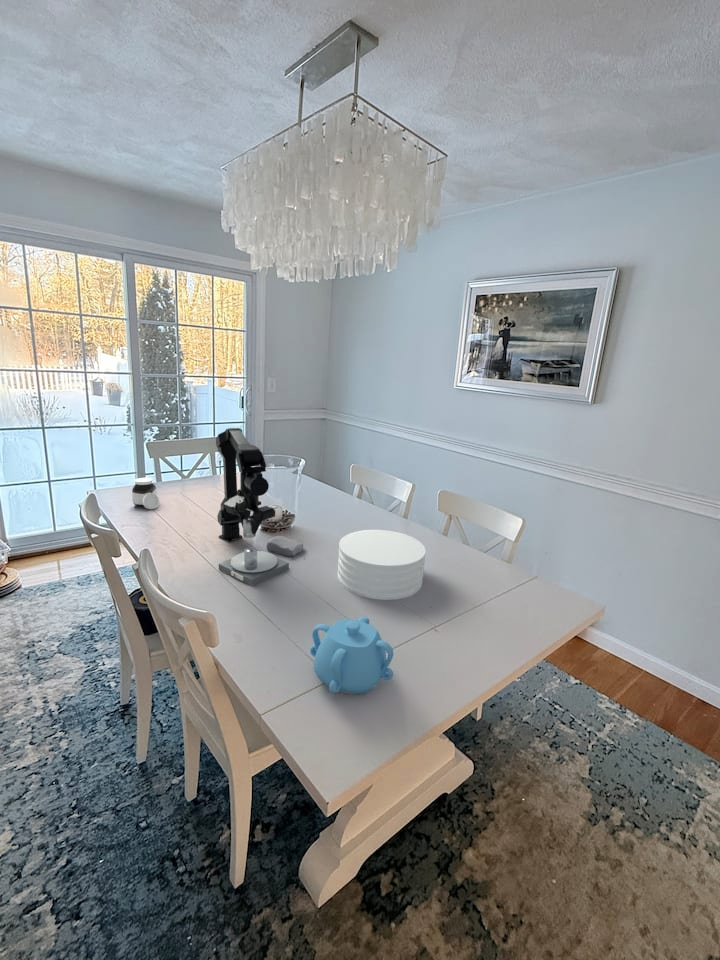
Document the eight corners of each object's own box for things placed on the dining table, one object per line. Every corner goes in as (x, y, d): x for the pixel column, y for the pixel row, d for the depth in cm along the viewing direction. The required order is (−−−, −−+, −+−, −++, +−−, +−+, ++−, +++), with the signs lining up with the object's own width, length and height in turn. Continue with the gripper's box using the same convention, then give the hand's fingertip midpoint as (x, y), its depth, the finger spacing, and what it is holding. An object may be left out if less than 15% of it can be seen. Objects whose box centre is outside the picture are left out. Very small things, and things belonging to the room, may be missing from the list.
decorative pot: (321, 709, 92) (324, 652, 88) (307, 659, 107) (309, 608, 103) (395, 696, 97) (401, 642, 93) (371, 650, 112) (376, 601, 108)
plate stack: (377, 552, 168) (380, 523, 165) (439, 581, 149) (443, 549, 146) (319, 574, 148) (321, 542, 145) (381, 610, 130) (385, 574, 126)
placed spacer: (241, 567, 142) (241, 550, 141) (251, 563, 146) (251, 546, 144) (250, 571, 140) (250, 554, 139) (259, 567, 143) (260, 550, 142)
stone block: (279, 546, 172) (263, 550, 163) (282, 534, 171) (265, 537, 162) (305, 554, 167) (290, 559, 158) (308, 542, 166) (293, 546, 157)
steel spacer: (240, 535, 148) (240, 518, 147) (250, 532, 151) (250, 515, 150) (248, 539, 146) (248, 521, 144) (258, 535, 149) (258, 518, 148)
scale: (217, 569, 146) (216, 561, 145) (256, 554, 159) (256, 546, 158) (250, 586, 137) (250, 577, 136) (288, 568, 150) (289, 560, 150)
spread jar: (144, 500, 205) (142, 476, 202) (167, 503, 204) (165, 478, 201) (127, 508, 194) (125, 483, 190) (151, 511, 192) (150, 485, 189)
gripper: (210, 485, 143) (211, 530, 147) (248, 498, 133) (248, 547, 137) (238, 479, 152) (239, 522, 156) (276, 491, 141) (276, 537, 145)
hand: (249, 532), depth 148 cm, fingers closed on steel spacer, 4 cm apart
